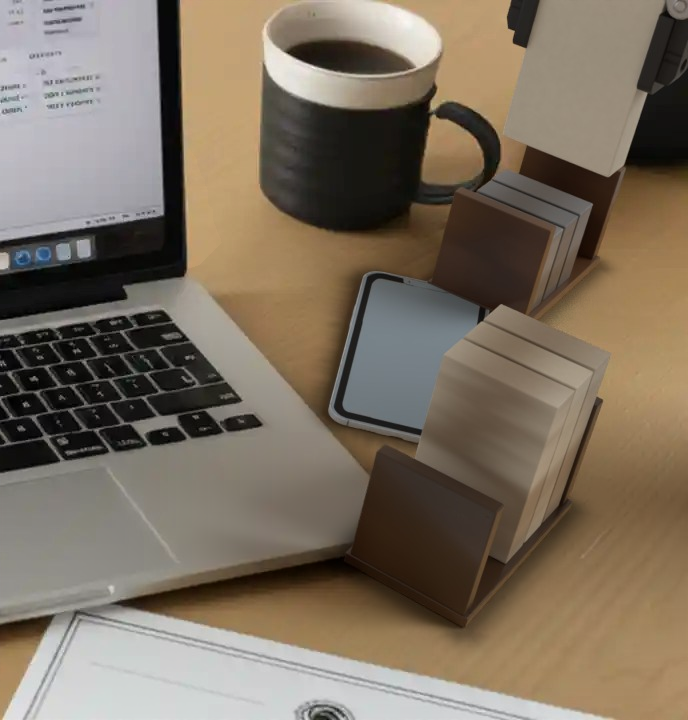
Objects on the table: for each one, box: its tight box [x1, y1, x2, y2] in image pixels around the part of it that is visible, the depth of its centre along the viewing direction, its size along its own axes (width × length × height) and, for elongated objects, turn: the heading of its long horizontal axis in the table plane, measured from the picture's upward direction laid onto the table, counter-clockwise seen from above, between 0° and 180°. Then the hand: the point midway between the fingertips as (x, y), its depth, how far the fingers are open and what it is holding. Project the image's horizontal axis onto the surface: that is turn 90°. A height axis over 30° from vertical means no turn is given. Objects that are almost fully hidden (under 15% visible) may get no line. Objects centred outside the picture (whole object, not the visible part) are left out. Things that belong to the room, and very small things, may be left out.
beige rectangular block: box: [501, 0, 667, 177], centre depth 76 cm, size 6×2×9 cm, turn 50°
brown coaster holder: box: [427, 145, 627, 321], centre depth 96 cm, size 6×10×7 cm, turn 141°
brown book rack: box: [343, 304, 612, 629], centre depth 75 cm, size 6×11×10 cm, turn 141°
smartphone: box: [327, 270, 489, 444], centre depth 90 cm, size 7×1×15 cm
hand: (588, 62), depth 76 cm, fingers closed on beige rectangular block, 5 cm apart
